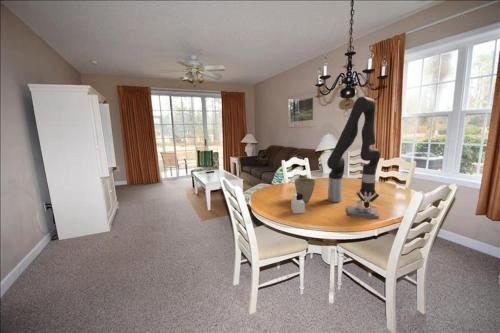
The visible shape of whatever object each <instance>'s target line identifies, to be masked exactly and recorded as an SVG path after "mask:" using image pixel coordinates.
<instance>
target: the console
mask: <svg viewBox="0 0 500 333" xmlns="http://www.w3.org/2000/svg"><path fill="white" fill-rule="evenodd" d="M346 211H347V216H351V217H359V218H360V217H361V218H367V219H368V218H369V219H376V220H377V219H379V218H380V216H379V213H378V212H377V209H376V210H375V214H370V207H368V208H365V207H363V206H362V208H361V209H357V206H355V205H354V206H352V205H346Z"/></svg>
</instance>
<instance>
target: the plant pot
mask: <svg viewBox="0 0 500 333" xmlns="http://www.w3.org/2000/svg"><path fill="white" fill-rule="evenodd" d="M315 184H316V180H315V179H314V178H312V177H311V178H310V177H298V178H294V187H295V191H296V193H301V194H302V195H303V201H304V202H305V203H308V202H310V200H311V198H312V195H313V193H314V189H315V186H316V185H315Z"/></svg>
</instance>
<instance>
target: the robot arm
mask: <svg viewBox="0 0 500 333" xmlns="http://www.w3.org/2000/svg"><path fill="white" fill-rule="evenodd" d="M362 114H363V116H364V123H363V126H362V129H361V149H360V159H361V160H363V161H365V162H367V161H369V162H368V163H365V164H363V165H362V174H361V179H360V180H361V181H360V182H361V183H360V185H361V186H360V189H359V191H357V192H356V195H357V197H358V198H359V200H362V202H363V206H364V207H365V208H370V204H371V203H372V202H374V201H375V200H377V199H378V197H379V196H380V195H379V193H378V192H376V189H375V188H376V169H377V166H378V163H379V161H380V159H381V152H380V150H379V149H378V148H370V146H373V145H375V144H376V135H375V133H376V132H375V117H376V101H375V99H374V98H371V97H366V96H359V97H358V98H356V100H355V101H354V103H353V106H352V107H351V111H350V114H349V116H348V119H347V120H346V123H345V125H344V128H343V130H342V132H341V133H340V135H339V139H338V140H337V143H336V145H335V146H334V148H333V150H332V152H331V154H330V156H329V157H328V159H327V162H326V165H327V167H328V169H330V170H331V171H330V172H329V173H328V185H327V186H328V188H327V202H332V203H341V202H342V194H343V176H344V173H345V163H346V162H345V159H344V157H343V155H344V154H345V152H346V151H347V150H348V149H349V148H350V147H351V146H352V144H354V142H355V139H356V138H357V137H358V133H359V122H360V118H361V116H362ZM361 195H362V196H361Z"/></svg>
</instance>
